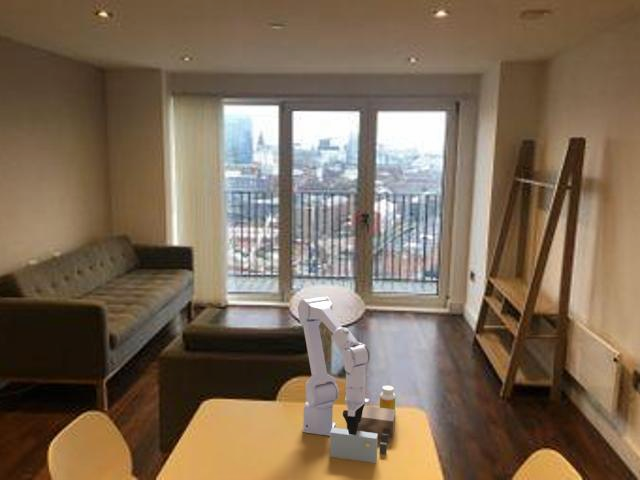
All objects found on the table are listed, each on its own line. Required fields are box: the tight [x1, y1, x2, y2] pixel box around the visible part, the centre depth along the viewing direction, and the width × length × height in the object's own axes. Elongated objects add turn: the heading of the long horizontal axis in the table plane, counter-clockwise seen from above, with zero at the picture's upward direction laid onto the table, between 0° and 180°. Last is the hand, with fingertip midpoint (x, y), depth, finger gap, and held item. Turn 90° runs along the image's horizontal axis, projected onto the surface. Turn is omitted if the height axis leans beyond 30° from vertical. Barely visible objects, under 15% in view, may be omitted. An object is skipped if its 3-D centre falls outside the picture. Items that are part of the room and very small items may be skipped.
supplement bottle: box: [379, 385, 396, 410], centre depth 193 cm, size 5×5×10 cm
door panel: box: [329, 427, 379, 464], centre depth 166 cm, size 14×4×8 cm, turn 77°
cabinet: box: [346, 405, 397, 455], centre depth 178 cm, size 15×17×6 cm
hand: (354, 427), depth 165 cm, fingers open, 7 cm apart
